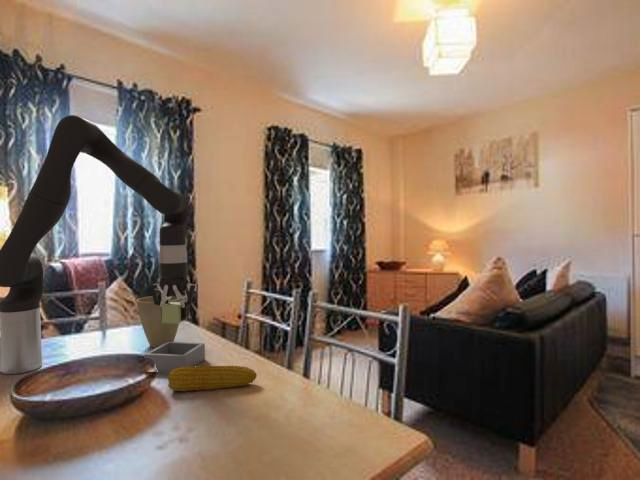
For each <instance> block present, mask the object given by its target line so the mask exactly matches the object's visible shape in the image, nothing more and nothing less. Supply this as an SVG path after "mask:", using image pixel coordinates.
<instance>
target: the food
mask: <svg viewBox="0 0 640 480" xmlns="http://www.w3.org/2000/svg"><path fill="white" fill-rule="evenodd" d="M257 376H258V375H257V373H256V371H254V369H252V368H250V367H247V366H243V365H242V366H240V365H203V366H202V365H201V366H200V365H197V366H196V367H190V366H189V367H188V366H185V367H180V368H176V369H174V370H172V371H171V372H170V374H169V375H168V380H167V381H168V384H167V386H168V388H169V389H170V390H172V391H175V392H178V391H179V392H180V391H181V392H188V391H190V392H193V391H203V390H205V391H206V390H215V389H216V390H218V389H225V388H226V389H227V388H236V387H243V386H244V387H245V386H247V385H249V384H252V383H254V381H255V380H256V379H257Z"/></svg>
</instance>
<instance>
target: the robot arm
mask: <svg viewBox="0 0 640 480" xmlns="http://www.w3.org/2000/svg"><path fill="white" fill-rule="evenodd" d="M50 140H51V141H50V144H49V147H48V149H47V153H46V155H45V159H44V161H43V163H42V166H41V167H40V169H39V173H38V174H37V177H36V179H35V181H34V182H33V184H32V187H31V188H30V191H29V193H28V195H27V198H26V199H25V201H24V204H23V206H22V208H21V211H20V213H19V215H18V217H17V218H16V221H15V223H14V225H13V227H12V229H11V231H10V233H9V235H8V237H7V238H6V240H5V242H4V243H3V245H2V246H1V248H0V287H1V288H9V291H8V292H7V295H6V296H5V297H4V298H2V299H1V300H0V372H1V373H2V374H4V375H18V374H25V373H28V372H32V371H35V370H37V369H39V368H41V367H42V366H43V354H42V351H43V350H42V349H43V348H42V330H41V329H42V327H41V326H42V324H41V323H42V322H41V307H40V306H41V300H42V297H43V294H44V267H43V263H42V260H41V259H40V258H39V257H38V256H37V255H36V254H34V253H33V252H34V249H35V248H36V246H37V245H38V243H39V242H40V241H41V240H42V239H43V238H44V237H45V236H46V235H48V233H49V232H51V230H52V229H53V228H54V227H55V226H56V225H57V224H58V222H59V221H60V219H61V218H62V217H63V216H64V213H65V211H66V208H67V206H68V204H69V202H70V199H71V193H72V190H71V189H72V183H71V181H72V180H71V179H72V170H73V168H74V165H75V163H76V161H77V158H78V156H79V155H80V153H82V154H86V155H88V156H90V157H92V158H94V159H96V160H97V161H99V162H101V163H102V164H104V165H105V166H106V167H107V168H109V169H110V170H111V171H112V172H113V174H114V175H115V176H116V177H117V178H118V179H119V180H120V181H121V182H122V183H123V184H125V185H126V186H127V187H129V188H130V189H131V190H132V191H134V192H135V193H136V194H138V195H139V196H141V197H142V198H143V199H144V200H145V201H146V202H147V203H148V205H150V206H151V207H152V208H153V209H154V210H156V211H157V212H159V214H162V215H163V225H161V226H160V228H159V234H158V235H159V251H158V267H159V278H160V280H159V283H154V284H150V285H149V288H150V291H151V296H153V300H154V304H155V305H159V306H160V307H161V317H162V305H165V304H167V303H169V300H170V298H171V297H172V296H175V297H177V299H178V301H179V302H180V305H181V307H182V308H181V320H182V321H183V322H185V321H187V320H188V318H189V307H190V306H192V305H194V304H195V303H196V299H197V298H196V297H197V293H198V289H199V285H198V284H197V283H195V284H194V283H189V280H188V251H187V245H186V244H187V240H186V226H187V220H188V213H189V211H188V209H189V207H188V206H189V205H188V201H187V198H186V197H185V195H183V194H182V193H180V192H178V191H173V189H171V188H169V187H167V186H166V185H164V183H162V182H161V180H160V179H159V178H158V176H156V175H155V174H154V173H152V172H151V171H150V170H149V169H147V168H146V167H144V166H143V165H142V164H140V163H139V162H138V161H136V160H135V159H133V158H132V157H131V156H129V154H126V153H125V151H123V150H122V149H120V148H119V147H118V146H117V144H115V143H114V142H113V141H112V140H111V139H110V138H109V137H108V136H107V135H106V134H105V133H104V131H102V130H101V128H100V127H99V126H97V125H96V124H95V123H94V122H92V121H90V120H88V119H86V118H83V117H81V116H78V115H76V114H75V115H74V114H70V115H67V116H64V117H62V118H61V120H59V122H58V123H57V125H56V127H55V129H54V132H53V135H52V138H51V139H50ZM161 290H162V294H161ZM186 290H187V291H188V295H187V292H186ZM161 295H162V297H161ZM186 319H187V320H186ZM184 320H185V321H184Z"/></svg>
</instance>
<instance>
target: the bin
mask: <svg viewBox="0 0 640 480" xmlns="http://www.w3.org/2000/svg"><path fill="white" fill-rule="evenodd" d="M205 346H206V345H205V342H187V341H186V342H185V341H174V342H166V343H165V344H163V345H161V346H159V347H154V349H152V350H150V351H148V352H146V353H144V355H143V356H144V357H143V358H150V359H152V360H153V361H154V362H155V364H156V368H157V370H158V373H157V374H169V375H170V372H171V371H172V370H174V369H176V368H180V367H185V366H188V367H189V366H190V367H195V366H199V365H200V364H201V363H202V362H203V360H204V359H205V360H206V349H205V348H206V347H205ZM205 360H204V361H205ZM200 362H201V363H200ZM199 363H200V364H199Z"/></svg>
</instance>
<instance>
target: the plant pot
mask: <svg viewBox="0 0 640 480" xmlns="http://www.w3.org/2000/svg"><path fill="white" fill-rule="evenodd" d="M161 297H162V294H161ZM170 302H179V301H178V299H177V297H175V296H172V297H171V298H170V300H169V303H170ZM136 304H137V305H136V306H137V311H138V316H139V320H140V322H141V323H140V324H141V326H142V329H143V331H144V335H145V338H146V340H147V342H148V344H149V346H150V347H152V348H157V347H159V346H161V345H163V344H165V343H166V342H175V338H176V336H177V332H178V329H179V326H180V323H179V324H176V323H162V317H161V307H160V306H159V305H155V304H154V300H153V296H152V295H151V296H145V297H141V298H137V299H136Z"/></svg>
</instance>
